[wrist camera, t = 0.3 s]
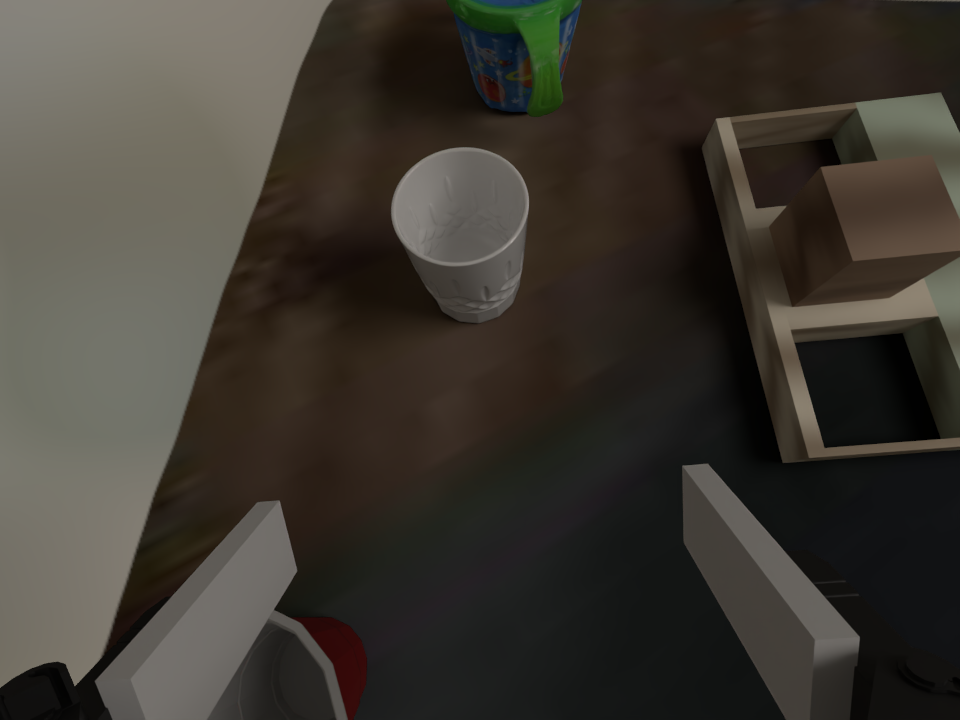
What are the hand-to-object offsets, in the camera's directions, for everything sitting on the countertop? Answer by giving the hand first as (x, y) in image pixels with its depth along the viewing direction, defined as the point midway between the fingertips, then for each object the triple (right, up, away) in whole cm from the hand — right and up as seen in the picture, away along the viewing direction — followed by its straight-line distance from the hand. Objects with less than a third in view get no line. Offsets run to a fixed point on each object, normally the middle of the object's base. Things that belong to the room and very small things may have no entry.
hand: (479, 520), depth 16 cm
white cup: (0, +11, +21) cm, 24 cm away
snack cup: (+3, +29, +27) cm, 40 cm away
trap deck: (+27, +11, +19) cm, 35 cm away
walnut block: (+23, +12, +16) cm, 30 cm away
